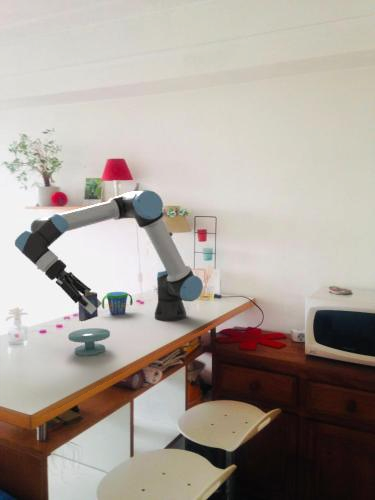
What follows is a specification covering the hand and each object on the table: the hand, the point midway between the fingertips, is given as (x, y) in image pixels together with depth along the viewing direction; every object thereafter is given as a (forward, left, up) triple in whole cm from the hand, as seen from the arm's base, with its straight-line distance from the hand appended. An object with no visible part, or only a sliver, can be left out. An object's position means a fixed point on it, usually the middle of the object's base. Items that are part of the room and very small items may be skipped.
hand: (96, 308), depth 163 cm
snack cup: (+3, -58, -16) cm, 60 cm away
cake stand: (+3, 0, -16) cm, 16 cm away
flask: (+3, 0, -4) cm, 5 cm away
